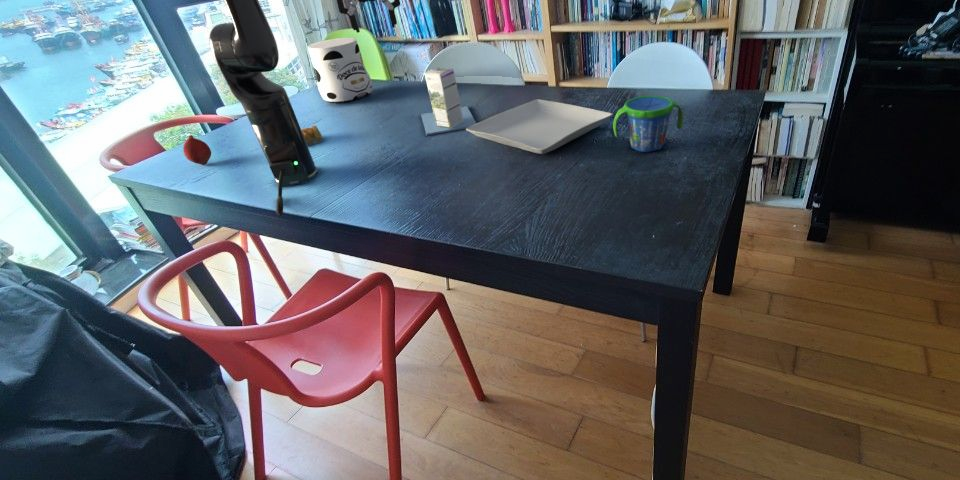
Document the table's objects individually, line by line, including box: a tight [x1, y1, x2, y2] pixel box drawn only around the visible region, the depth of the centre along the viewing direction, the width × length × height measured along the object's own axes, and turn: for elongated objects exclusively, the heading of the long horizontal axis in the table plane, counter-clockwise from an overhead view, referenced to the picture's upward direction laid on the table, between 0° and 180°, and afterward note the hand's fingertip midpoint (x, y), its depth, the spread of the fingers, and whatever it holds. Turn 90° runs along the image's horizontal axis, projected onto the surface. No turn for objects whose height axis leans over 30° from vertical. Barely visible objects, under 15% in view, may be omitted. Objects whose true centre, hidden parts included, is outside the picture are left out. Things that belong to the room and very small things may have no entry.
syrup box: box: [424, 67, 464, 128], centre depth 129 cm, size 6×6×14 cm
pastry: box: [301, 125, 324, 146], centre depth 132 cm, size 9×7×4 cm
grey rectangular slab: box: [420, 105, 478, 137], centre depth 137 cm, size 18×14×1 cm
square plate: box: [465, 98, 614, 155], centre depth 122 cm, size 27×27×4 cm
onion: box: [182, 134, 212, 166], centre depth 124 cm, size 6×6×8 cm
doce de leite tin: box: [307, 37, 374, 105], centre depth 159 cm, size 17×17×18 cm
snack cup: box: [612, 94, 684, 153], centre depth 108 cm, size 16×10×10 cm
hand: (376, 29), depth 117 cm, fingers open, 8 cm apart
